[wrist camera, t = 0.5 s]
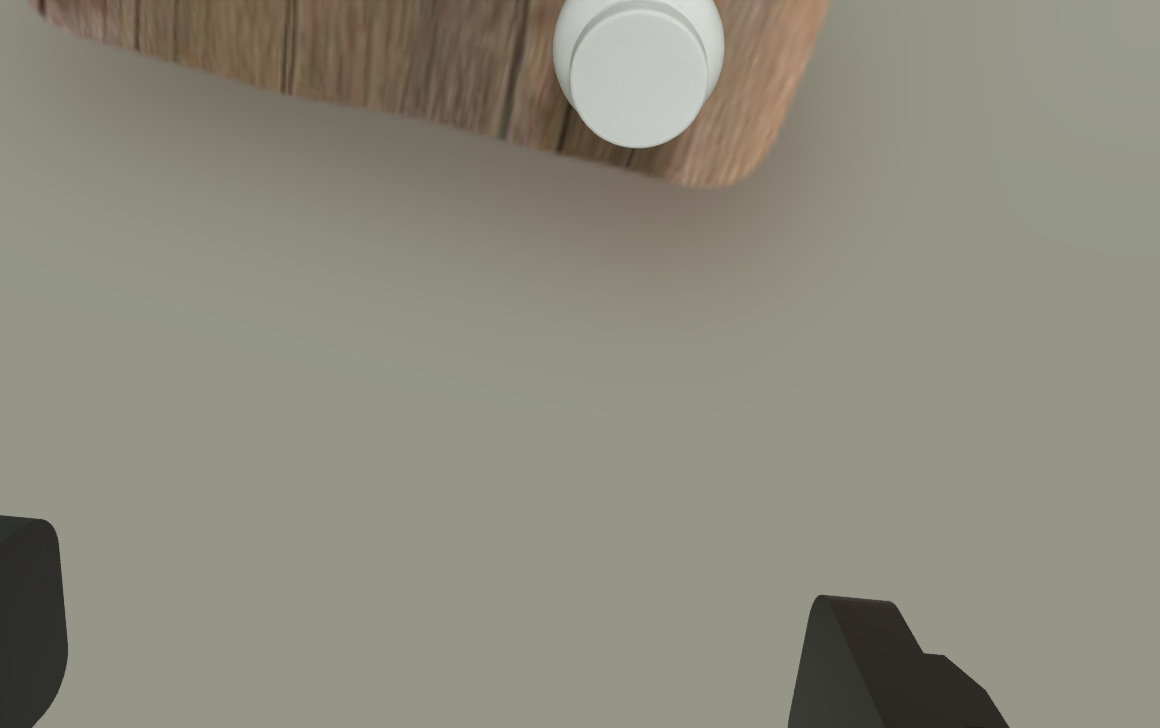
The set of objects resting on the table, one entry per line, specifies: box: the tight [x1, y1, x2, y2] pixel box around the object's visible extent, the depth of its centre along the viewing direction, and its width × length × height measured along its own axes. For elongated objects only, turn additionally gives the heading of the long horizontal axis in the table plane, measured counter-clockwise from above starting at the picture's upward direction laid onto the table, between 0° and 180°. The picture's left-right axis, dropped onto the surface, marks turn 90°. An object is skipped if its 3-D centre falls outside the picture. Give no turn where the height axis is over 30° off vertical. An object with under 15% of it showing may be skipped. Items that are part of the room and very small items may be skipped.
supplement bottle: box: [553, 0, 724, 148], centre depth 29 cm, size 5×5×10 cm
